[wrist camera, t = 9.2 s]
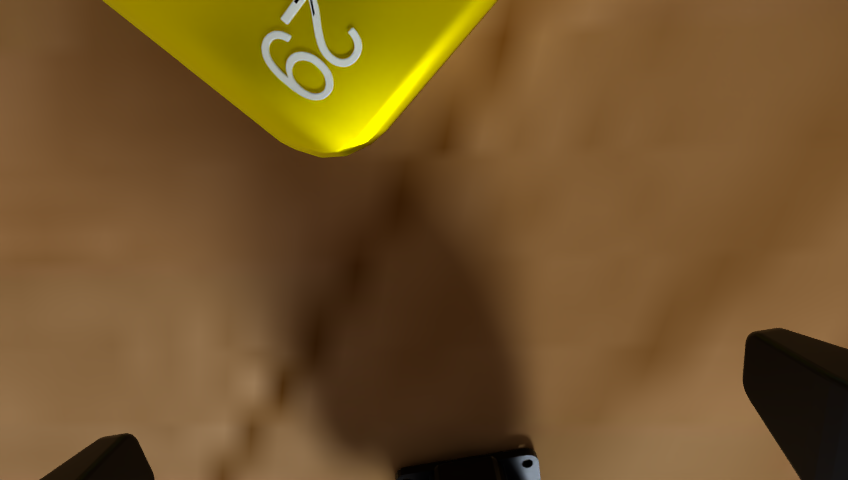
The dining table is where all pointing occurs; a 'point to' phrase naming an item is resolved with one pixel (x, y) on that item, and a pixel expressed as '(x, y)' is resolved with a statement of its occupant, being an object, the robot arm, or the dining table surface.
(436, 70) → the element tile
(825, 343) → the robot arm
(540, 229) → the dining table surface
